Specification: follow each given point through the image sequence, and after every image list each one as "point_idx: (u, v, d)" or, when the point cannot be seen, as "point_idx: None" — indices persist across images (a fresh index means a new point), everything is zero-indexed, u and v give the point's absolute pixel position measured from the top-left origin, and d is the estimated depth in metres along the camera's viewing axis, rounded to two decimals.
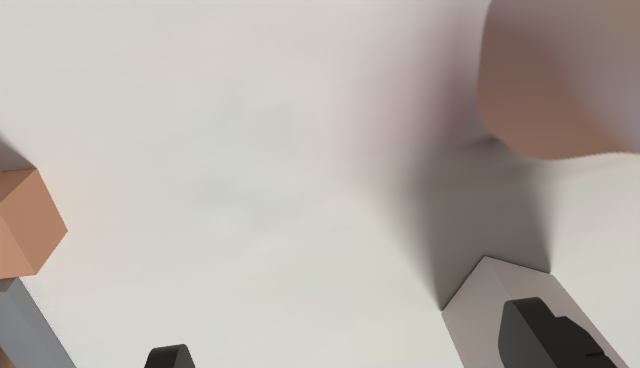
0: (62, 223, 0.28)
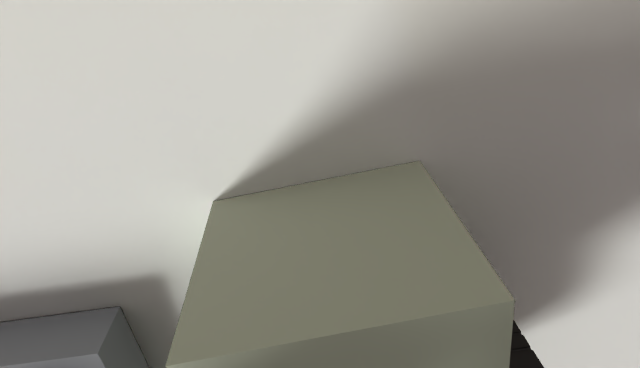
0: None
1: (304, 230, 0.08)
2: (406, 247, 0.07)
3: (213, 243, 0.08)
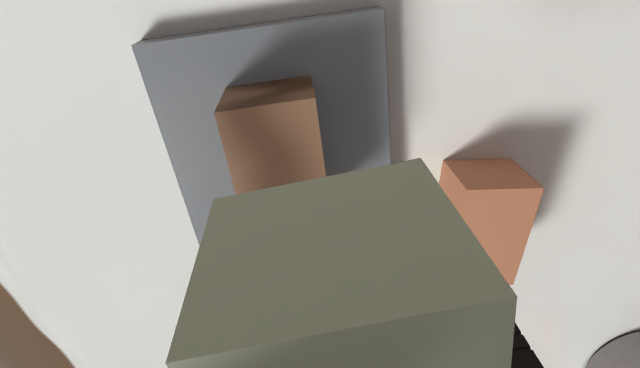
0: None
1: (305, 228, 0.08)
2: (408, 243, 0.07)
3: (214, 240, 0.08)
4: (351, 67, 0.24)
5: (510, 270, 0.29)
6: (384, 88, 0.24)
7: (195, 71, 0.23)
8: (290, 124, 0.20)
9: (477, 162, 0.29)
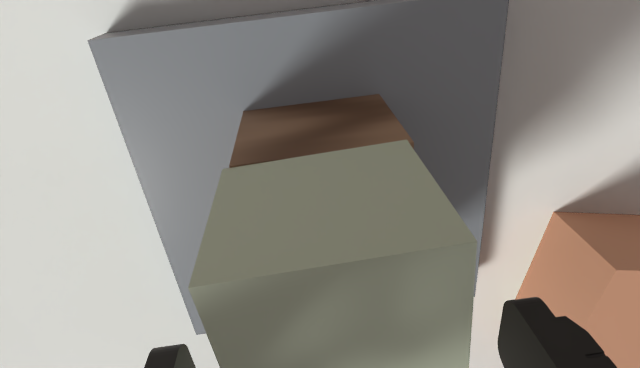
0: None
1: (304, 192, 0.09)
2: (392, 204, 0.08)
3: (224, 201, 0.09)
4: (444, 83, 0.15)
5: None
6: (491, 116, 0.16)
7: (195, 85, 0.14)
8: None
9: (602, 218, 0.20)
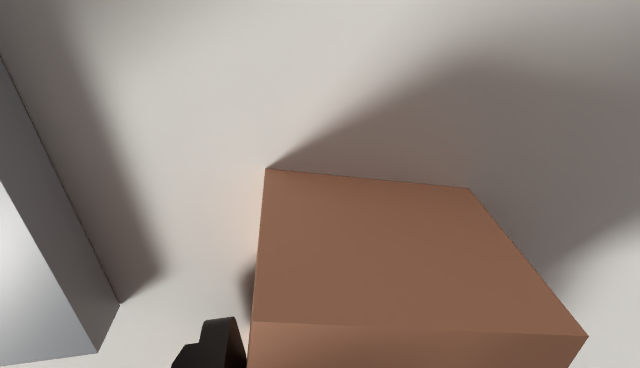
0: None
1: None
2: None
3: None
4: None
5: None
6: None
7: None
8: None
9: (368, 190, 0.09)
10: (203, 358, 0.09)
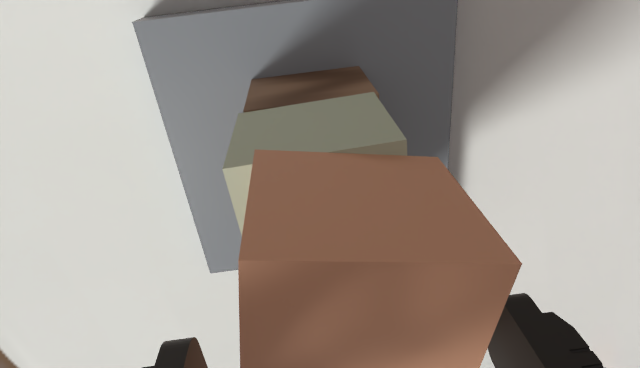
0: None
1: (298, 122, 0.13)
2: (356, 125, 0.12)
3: (241, 129, 0.13)
4: (410, 57, 0.19)
5: None
6: (449, 84, 0.20)
7: (214, 58, 0.18)
8: None
9: (345, 162, 0.10)
10: None
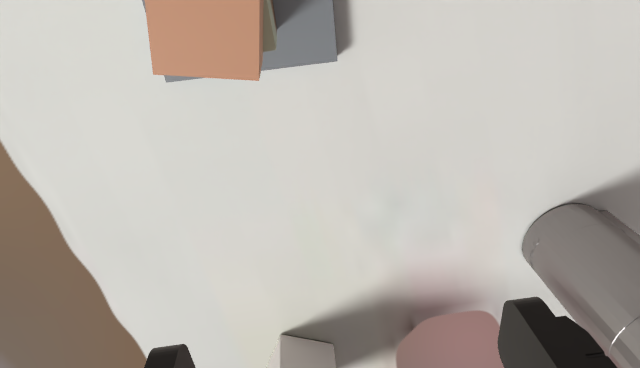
0: None
1: None
2: None
3: None
4: None
5: (247, 52, 0.19)
6: None
7: None
8: None
9: None
10: None
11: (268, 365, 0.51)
